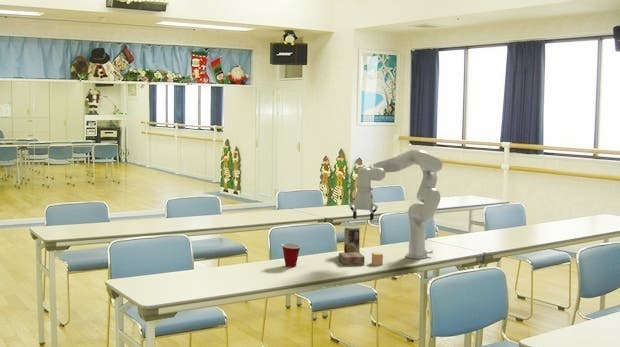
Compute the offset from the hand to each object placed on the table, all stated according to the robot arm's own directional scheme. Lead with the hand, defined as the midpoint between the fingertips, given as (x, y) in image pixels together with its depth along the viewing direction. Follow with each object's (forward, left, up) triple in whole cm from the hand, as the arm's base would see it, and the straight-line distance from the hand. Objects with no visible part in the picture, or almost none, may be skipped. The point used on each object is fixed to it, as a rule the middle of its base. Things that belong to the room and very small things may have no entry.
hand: (363, 219), depth 385 cm
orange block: (-7, +7, -24) cm, 26 cm away
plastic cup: (+42, +8, -24) cm, 49 cm away
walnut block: (+7, +3, -25) cm, 26 cm away
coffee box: (+3, -15, -24) cm, 29 cm away
